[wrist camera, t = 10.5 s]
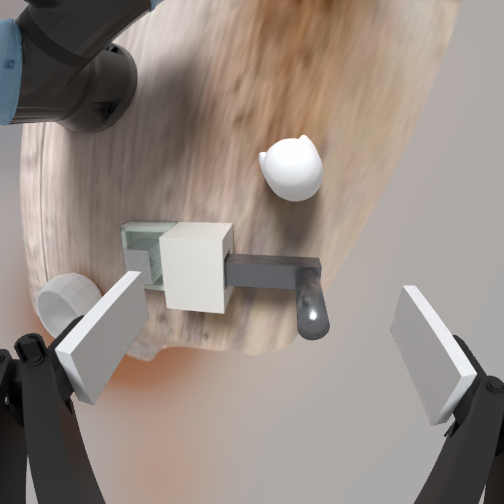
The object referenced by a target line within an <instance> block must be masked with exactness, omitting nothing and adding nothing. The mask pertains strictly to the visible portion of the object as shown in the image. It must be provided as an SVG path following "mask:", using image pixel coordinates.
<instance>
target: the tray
mask: <svg viewBox="0 0 504 504" xmlns="http://www.w3.org/2000/svg"><path fill="white" fill-rule="evenodd" d="M177 223H178V222H159V221H128V222H126V223H125V224H123V225H121V226H120V229H121V237H122V246H123V249H125V248H126V247H127V246H129V245H130V244H132V243H133V242H134V241H136V240H137V239H139V238H141V239H159V237H160V236H162V235H163V234H164V233H165V232H167V231H168V230H169V229H170V228H172V227H173V226H174V225H176V224H177ZM123 253H124V251H123ZM124 260H125V258H124ZM125 267H126V265H125ZM126 273H127V272H126ZM143 285H144V289H152V290H162V291H165V290H164V282H163V273H162V274H161V275H160V276H159V278H158V279H157V280H156V281H155V282H154V283H153V284H143Z"/></svg>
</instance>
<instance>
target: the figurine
mask: <svg viewBox="0 0 504 504" xmlns="http://www.w3.org/2000/svg"><path fill="white" fill-rule="evenodd" d="M259 162H260V167H261V170H262V173H263V175H264V177H265V179H266V181H267V183H268V185H269V186H270V187H271V189H272V190H273V191H274V192H275V193H276V194H277V195H278V196H279V197H281V198H283V199H285V200H288V201H303V200H306V199H308V198H310V197H311V196H313V195H314V194H315V193H316V192H317V191H318V189H319V188H320V186H321V183H322V180H323V168H322V163H321V160H320V157H319V154H318V152H317V150H316V148H315V146H314V145H313V143H312V142H311V140H310V139H309V138H308V137H307V136H305V135H302V136H301V137H300V138H299V139H284V140H281V141H279V142H277V143H275V144H274V145H273V146H272V147H271V148H270V149H269V150H268V151H267V153H266V152H261V153H260V154H259Z"/></svg>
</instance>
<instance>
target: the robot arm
mask: <svg viewBox="0 0 504 504" xmlns="http://www.w3.org/2000/svg"><path fill="white" fill-rule="evenodd" d="M24 1H26V2H28V3H30V4H29V5H28V6H27V7H26V9H25V10H24V11H23V12H22V13H21V14H20V16H19V17H18V18H17V19H16V20H15V21H14V20H13V19H7V20H1V21H0V125H9V124H20V123H35V122H57V123H58V124H60V125H62V126H64V127H66V128H67V129H69V130H71V131H74V132H78V133H95V132H99V131H102V130H104V129H106V128H108V127H110V126H111V125H112V124H114V123H115V122H116V121H117V120H118V119H119V118H120V117H121V116H122V115H123V113H124V112H125V110H126V109H127V107H128V106H129V104H130V102H131V100H132V97H133V95H134V91H135V87H136V82H137V71H136V65H135V62H134V60H133V58H132V56H131V54H130V53H129V52H128V51H127V50H126V49H124V48H123V47H121V46H119V45H117V44H114V43H111V42H112V41H113V40H115V39H116V38H117V37H118V36H119V35H120V34H121V33H123V32H124V31H125V30H126V29H127V28H129V27H130V26H131V25H132V24H134V23H135V22H136V21H137V20H139V19H140V18H141V17H143V16H144V15H145V14H147V13H148V12H152V11H153V10H154V9H155V7H156V6H157V5H158V4H159V3H161V2H162V1H163V0H24ZM148 318H149V315H148V309H147V304H146V298H145V292H144V285H143V279H142V272H137V271H128V272H127V273H126V274H125V275H124V276H123V277H122V278H121V279H120V280H119V281H118V282H117V283H116V284H115V285H114V286H113V287H112V288H111V289H110V290H109V291H108V292H107V293H106V294H105V295H104V296H103V297H102V298H101V299H100V300H99V301H98V302H97V304H96V305H95V306H94V307H93V308H92V309H91V310H90V311H89V312H88V313H87V314H86V315H81V316H79V317H78V318H76V319H74V320H73V321H72V322H71V323H70V324H69V325H68V326H67V328H65V329H64V330H63V331H62V334H60V335H59V336H58V337H57V338H56V339H55V340H54V341H53V342H52V343H51V345H50V346H49V347H48V348H46V346H45V343H44V341H43V339H42V336H40V335H39V334H36V333H31V334H26V335H24V336H22V337H21V338H19V339H18V340H17V342H16V343H15V345H14V348H15V350H16V352H17V354H18V356H19V358H20V360H18V359H12V357H11V355H10V353H9V351H8V350H6V349H0V504H26V469H27V455H28V458H29V464H30V469H31V474H32V479H33V484H34V488H35V492H36V496H37V500H38V504H106V503H105V501H104V499H103V496H102V494H101V491H100V489H99V486H98V484H97V481H96V478H95V476H94V473H93V471H92V468H91V465H90V462H89V459H88V456H87V453H86V450H85V447H84V443H83V440H82V436H81V433H80V430H79V426H78V422H77V418H76V414H75V410H74V406H73V402H72V400H71V398H70V396H71V394H72V393H73V391H74V392H75V394H76V396H77V398H78V400H79V401H82V402H85V403H88V404H91V405H94V404H95V402H96V401H97V399H98V397H99V396H100V394H101V392H102V391H103V389H104V387H105V386H106V384H107V382H108V381H109V379H110V377H111V376H112V374H113V373H114V371H115V369H116V368H117V366H118V365H119V363H120V361H121V360H122V358H123V356H124V355H125V353H126V352H127V350H128V349H129V347H130V346H131V344H132V342H133V341H134V339H135V338H136V336H137V335H138V333H139V332H140V330H141V328H142V327H143V325H144V324H145V322H146V321H147V319H148ZM390 332H391V334H392V336H393V338H394V340H395V342H396V344H397V346H398V348H399V351H400V353H401V355H402V357H403V359H404V362H405V364H406V366H407V368H408V370H409V373H410V375H411V378H412V380H413V382H414V384H415V387H416V389H417V392H418V394H419V397H420V399H421V401H422V404H423V406H424V409H425V412H426V414H427V417H428V419H429V422H430V424H431V426H433V425H437V424H442V423H446V422H447V420H448V419H449V418H450V416H451V414H452V413H453V414H454V417H455V419H456V420H455V421H454V423H453V424H452V425H451V426H450V428H449V429H448V431H447V432H446V433H445V435H444V436H445V437H446V436H447V434H448V436H447V438H446V441H445V443H444V445H443V448H442V450H441V452H440V454H439V457H438V459H437V461H436V463H435V465H434V467H433V469H432V471H431V473H430V475H429V477H428V479H427V481H426V483H425V485H424V487H423V488H422V490H421V492H420V494H419V495H418V497H417V499H416V501H415V502H414V504H478V503H479V501H480V498H481V495H482V492H483V490H484V487H485V484H486V488H485V496H484V503H483V504H504V383H503V382H502V381H501V380H500V379H498V378H497V377H494V376H487V375H486V373H485V372H484V371H483V369H482V367H481V366H480V364H479V363H478V361H477V360H476V359H475V357H474V356H473V354H472V352H471V351H470V350H469V348H468V346H467V345H466V344H465V342H464V341H463V340H462V339H460V338H459V337H458V336H456V335H451V333H450V332H449V330H448V329H447V328H446V326H445V325H444V324H443V322H442V321H441V319H440V318H439V316H438V315H437V314H436V312H435V311H434V310H433V308H432V307H431V306H430V304H429V303H428V302H427V300H426V299H425V298H424V296H423V295H422V294H421V293H420V291H419V290H418V289H417V287H416V286H402V290H401V294H400V298H399V301H398V305H397V308H396V312H395V315H394V319H393V322H392V326H391V329H390ZM5 398H7V401H6V403H5Z"/></svg>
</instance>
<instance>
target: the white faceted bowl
mask: <svg viewBox="0 0 504 504" xmlns="http://www.w3.org/2000/svg"><path fill="white" fill-rule="evenodd" d="M101 298H102V295H101V293H100V290H99V289H98V288H97V286H96V285H95V284H94V282H93V281H91V280H90V279H89V278H87V277H86V276H83V275H80V274H77V273H74V272H72V273H67V274H63V275H58V276H55V277H54V278H53V279H51V280H50V281H48V282H47V283H46V284H45V286H44V287H43V288H42V290H41V291H40V292H39V294H38V295H37V303H36V306H37V311H38V315H39V317H40V319H41V321H42V323H43V325H44V327H45V328H46V329H47V331H48V332H49V333H50V334H51V335H52V336H53V337H54V338H55V339H56V338H57V337H58V336H59V335H60V334H62V331H63V330H64V329H65V328H67V326H68V325H69V324H70V323H71V322H72V321H73V320H74V319H76V318H78V317H79V316H81V315H86V314H87V313H88V312H89V311H90V310H91V309H92V308H93V307H94V306H95V305H96V304H97V302H98V301H99V300H100V299H101Z"/></svg>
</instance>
